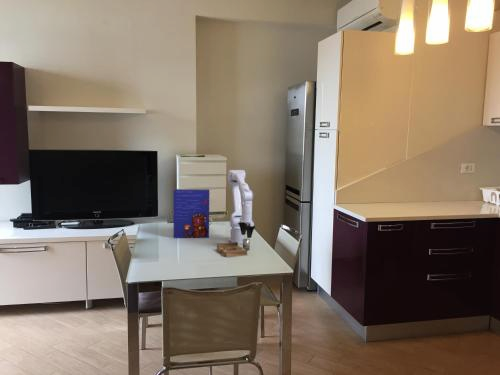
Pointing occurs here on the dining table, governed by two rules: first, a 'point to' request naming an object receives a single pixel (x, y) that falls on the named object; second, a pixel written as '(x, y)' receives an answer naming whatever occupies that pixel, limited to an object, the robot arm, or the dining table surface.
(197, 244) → the dining table surface
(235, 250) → the jig
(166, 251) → the dining table surface
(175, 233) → the cereal box
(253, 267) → the dining table surface
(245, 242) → the bushing
